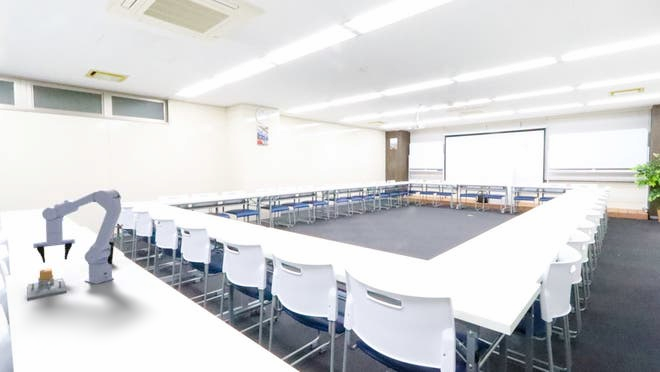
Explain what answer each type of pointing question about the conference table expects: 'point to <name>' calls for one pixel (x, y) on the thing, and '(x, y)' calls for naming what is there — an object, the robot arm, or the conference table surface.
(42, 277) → the block
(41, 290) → the board
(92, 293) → the conference table surface
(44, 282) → the clips
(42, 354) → the conference table surface
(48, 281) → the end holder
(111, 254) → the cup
